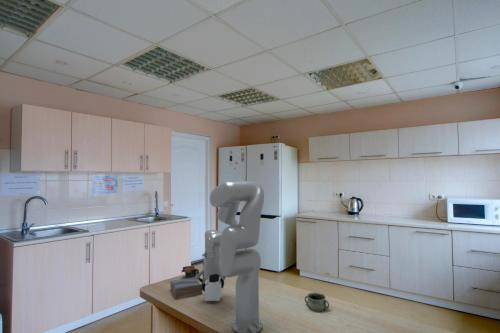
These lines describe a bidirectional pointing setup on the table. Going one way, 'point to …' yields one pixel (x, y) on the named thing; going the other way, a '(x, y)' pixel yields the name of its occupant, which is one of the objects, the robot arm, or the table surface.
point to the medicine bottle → (213, 288)
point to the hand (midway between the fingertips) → (213, 289)
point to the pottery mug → (189, 272)
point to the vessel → (316, 301)
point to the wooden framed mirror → (186, 288)
